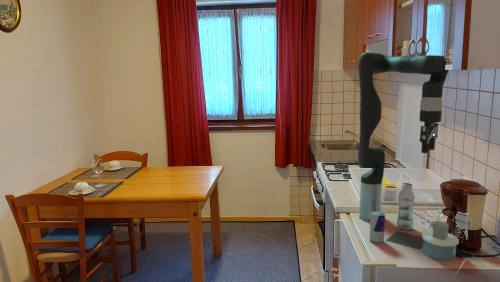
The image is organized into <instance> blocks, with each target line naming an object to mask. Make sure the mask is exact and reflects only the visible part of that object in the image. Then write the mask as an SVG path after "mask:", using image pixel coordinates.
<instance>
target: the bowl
mask: <svg viewBox="0 0 500 282" xmlns="http://www.w3.org/2000/svg"><path fill="white" fill-rule="evenodd" d="M422 253H423V254H424V255H425V256H427V257H428V258H430V259H433V260H438V261H440V262H441V261H442V262H446V261H447V262H448V261H449V262H450V261H454V259H455V258H456V256H457V255H456V253H457V246H452V247H444V246H438V245H434V244H431V243H428V242H426V241H425V240H424V241H423V247H422Z"/></svg>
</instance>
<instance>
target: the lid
mask: <svg viewBox="0 0 500 282" xmlns="http://www.w3.org/2000/svg"><path fill="white" fill-rule="evenodd" d="M449 225H450V224H449V223H447V222H442V221H437V220H436V221H435V222H434V223H433V230H426V231H423V232H422V233H421V237H422V238H423V240H425V241H426V242H428V243H431V244H434V245H438V246H444V247H452V246H456V245H458V244H459V239H458V238H457V237H456V236H454V235H453V233H449ZM456 247H457V246H456Z"/></svg>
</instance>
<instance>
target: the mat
mask: <svg viewBox="0 0 500 282" xmlns="http://www.w3.org/2000/svg"><path fill="white" fill-rule="evenodd" d="M385 241H386V242H390V243H393V244H397V245H400V246H404V247H408V248H412V249H416V250H421V249H423V241H424V240H423V238H422V235H421V236H420V235H417V234H412V233H408V232H406V231H405V232H404V231H400V230H396V231H395V232H394V233H393V234H392V235H390V236H389V237H388V238H386V239H385Z"/></svg>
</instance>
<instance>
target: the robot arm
mask: <svg viewBox="0 0 500 282" xmlns="http://www.w3.org/2000/svg"><path fill="white" fill-rule="evenodd" d="M444 57H445V55H431V54H430V55H429V54H428V55H427V54H426V55H425V54H424V55H417V54H416V55H399V56H391V55H386V54H382V53H379V52H368V51H367V52H363V53H362V54H361V55H360V57H359V59H358V64H357V65H358V67H357V68H358V77H359V78H358V79H359V101H360V102H359V139H358V140H359V141H358V151H357V161H358V164H359V166H360V168H362V169H370V170H369V171H368V172H365V173H363V174H362V175H361V177H360V191H359V192H360V194H359V212H358V213H359V214H358V218H359V219H360V220H362V221H366V222H370V219H371V212H373V211H380V212H381V211H382V209H381V206H382V188H383V187H382V186H383V178H384V171H385V165H386V162H385V161H386V154H385V151H384V148H382V147H381V146H380V147H376V146H375V147H374V146H373V147H372V146H371V147H370V141H371V137H372V135H373V133H374V131H376V128H378V125H379V123H380V122H381V120H382V107H383V106H382V102H381V101H382V100H381V98H380V96H379V94H378V92H377V91H376V88H375V85H374V75H377V74H378V75H379V74H382V73H388V72H389V73H391V72H392V73H393V72H396V73H401V74H411V75H412V74H413V75H414V74H419V75H428V76H429V75H430V77H429V80H428V81H427V80H426V81H424V82H423V84H422V89H421V100H420V106H419V120H418V121H420V122H421V123H424V125H421V126H420V133H419V143H421V153H422V154H428V153H429V150H430V151H435V148H436V140H437V138H438V137H439V136H438V135H439V133H438V132H439V123H441V122H442V116H443V93H444V92H443V90H444V84H445V82H446V80H447V76H448V73H449V70H445V65H446V61H445V58H444Z"/></svg>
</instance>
